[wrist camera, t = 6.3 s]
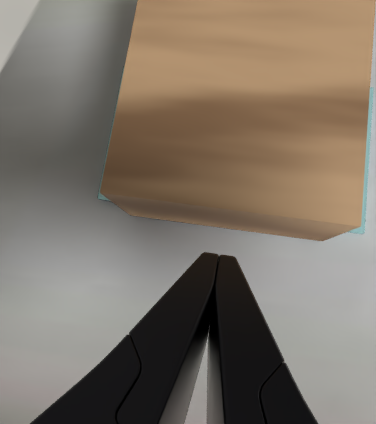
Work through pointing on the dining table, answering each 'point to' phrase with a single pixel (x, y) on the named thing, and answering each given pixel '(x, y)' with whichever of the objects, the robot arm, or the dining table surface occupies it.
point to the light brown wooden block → (245, 115)
